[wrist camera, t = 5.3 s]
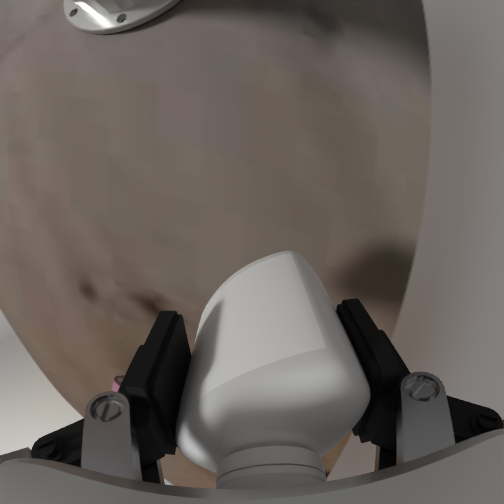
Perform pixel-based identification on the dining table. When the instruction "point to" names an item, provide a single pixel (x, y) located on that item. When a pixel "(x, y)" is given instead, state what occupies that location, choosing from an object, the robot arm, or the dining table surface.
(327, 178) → the dining table surface
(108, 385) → the dining table surface
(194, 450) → the eye dropper bottle
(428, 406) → the robot arm
